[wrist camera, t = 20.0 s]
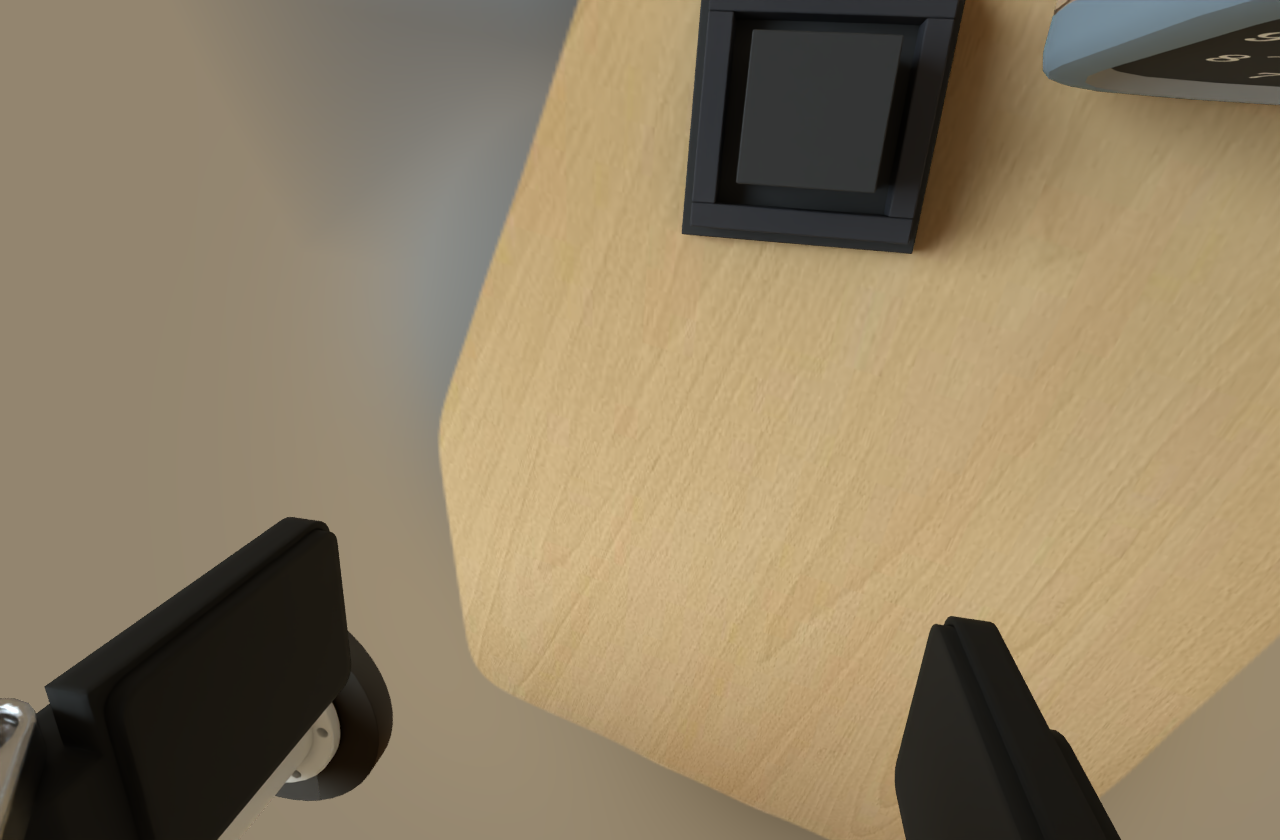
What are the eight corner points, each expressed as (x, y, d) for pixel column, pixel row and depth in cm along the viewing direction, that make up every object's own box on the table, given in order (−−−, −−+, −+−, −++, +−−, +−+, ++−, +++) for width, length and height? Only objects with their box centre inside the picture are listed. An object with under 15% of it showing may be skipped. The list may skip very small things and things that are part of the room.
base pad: (684, 232, 31) (676, 237, 29) (706, -20, 27) (699, -37, 25) (908, 251, 29) (919, 258, 27) (962, -13, 26) (980, -31, 23)
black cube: (741, 181, 29) (735, 183, 25) (756, 50, 27) (752, 28, 23) (860, 189, 28) (875, 193, 24) (884, 55, 26) (904, 34, 22)
